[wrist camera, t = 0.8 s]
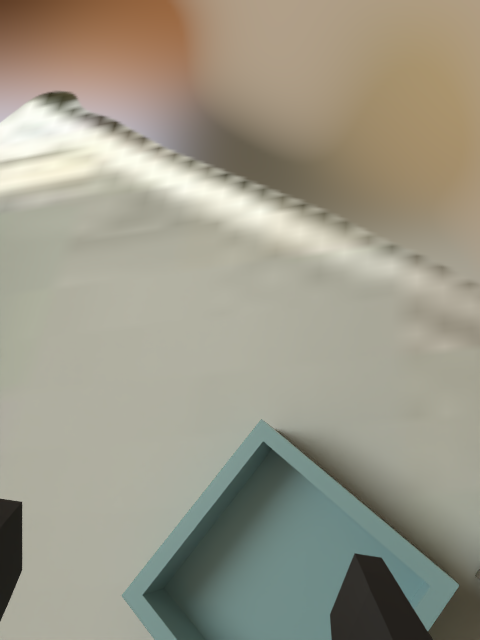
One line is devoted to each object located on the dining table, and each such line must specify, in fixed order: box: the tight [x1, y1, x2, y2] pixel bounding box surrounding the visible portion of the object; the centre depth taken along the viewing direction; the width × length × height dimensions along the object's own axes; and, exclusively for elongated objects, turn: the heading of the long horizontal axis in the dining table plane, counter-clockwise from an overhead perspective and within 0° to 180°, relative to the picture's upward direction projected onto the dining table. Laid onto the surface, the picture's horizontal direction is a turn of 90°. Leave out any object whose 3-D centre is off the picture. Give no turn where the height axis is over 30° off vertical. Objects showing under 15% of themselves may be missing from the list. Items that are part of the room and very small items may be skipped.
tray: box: [122, 419, 459, 640], centre depth 22 cm, size 11×11×3 cm
